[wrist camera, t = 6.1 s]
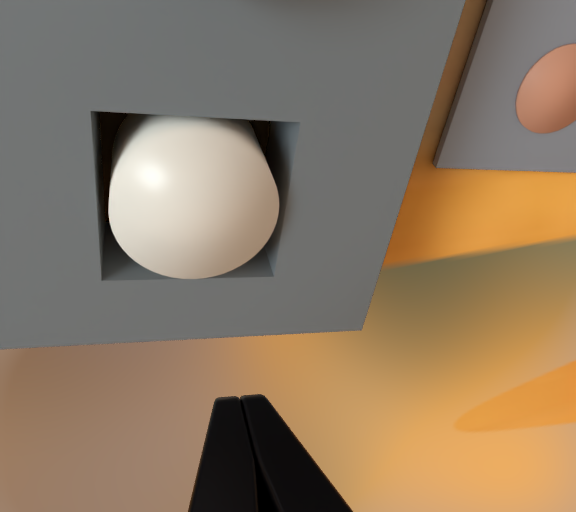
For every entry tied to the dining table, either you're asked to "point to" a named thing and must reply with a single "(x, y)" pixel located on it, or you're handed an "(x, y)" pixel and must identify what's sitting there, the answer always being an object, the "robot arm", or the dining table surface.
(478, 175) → the dining table surface
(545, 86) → the pattern card
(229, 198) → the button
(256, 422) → the robot arm
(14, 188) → the button board
